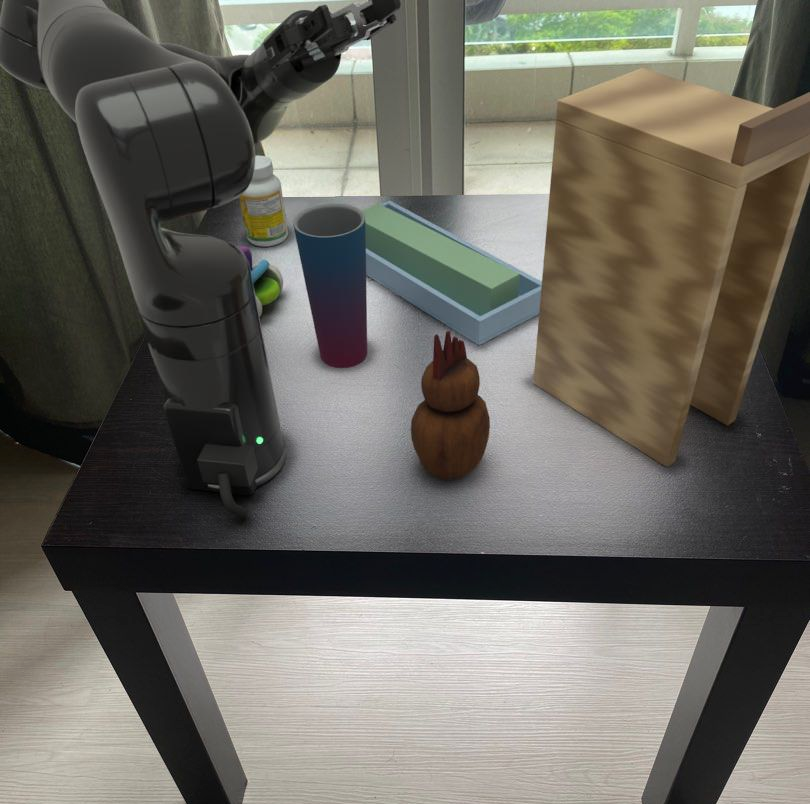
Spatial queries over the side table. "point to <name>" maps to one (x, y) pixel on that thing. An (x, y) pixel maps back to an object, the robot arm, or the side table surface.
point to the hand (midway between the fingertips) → (362, 6)
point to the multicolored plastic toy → (264, 280)
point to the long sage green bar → (439, 261)
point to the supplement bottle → (264, 206)
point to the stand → (664, 250)
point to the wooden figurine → (450, 414)
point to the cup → (335, 279)
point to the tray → (446, 308)
